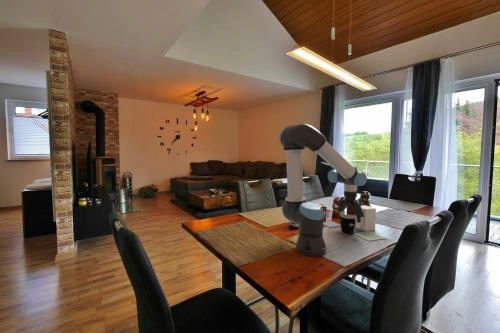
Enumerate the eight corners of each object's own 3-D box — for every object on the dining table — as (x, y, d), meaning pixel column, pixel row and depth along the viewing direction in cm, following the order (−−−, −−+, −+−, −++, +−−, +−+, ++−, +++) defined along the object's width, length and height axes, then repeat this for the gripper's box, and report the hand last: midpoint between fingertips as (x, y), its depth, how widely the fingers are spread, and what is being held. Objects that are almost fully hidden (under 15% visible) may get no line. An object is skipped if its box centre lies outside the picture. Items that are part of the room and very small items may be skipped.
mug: (348, 235, 141) (349, 219, 141) (336, 231, 149) (337, 215, 149) (361, 232, 147) (362, 216, 146) (349, 228, 155) (349, 213, 154)
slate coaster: (328, 227, 157) (328, 226, 157) (320, 223, 166) (320, 222, 166) (341, 226, 160) (341, 225, 159) (332, 221, 169) (332, 221, 169)
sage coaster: (368, 241, 133) (368, 240, 133) (353, 234, 144) (353, 233, 144) (385, 238, 136) (385, 238, 136) (369, 232, 148) (369, 231, 148)
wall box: (364, 231, 150) (365, 209, 149) (354, 226, 158) (355, 206, 157) (375, 229, 152) (376, 208, 151) (365, 225, 161) (365, 205, 160)
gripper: (370, 193, 136) (369, 229, 137) (342, 187, 159) (341, 218, 161) (360, 194, 133) (359, 231, 135) (332, 188, 157) (332, 219, 159)
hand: (349, 224), depth 148 cm, fingers open, 13 cm apart
